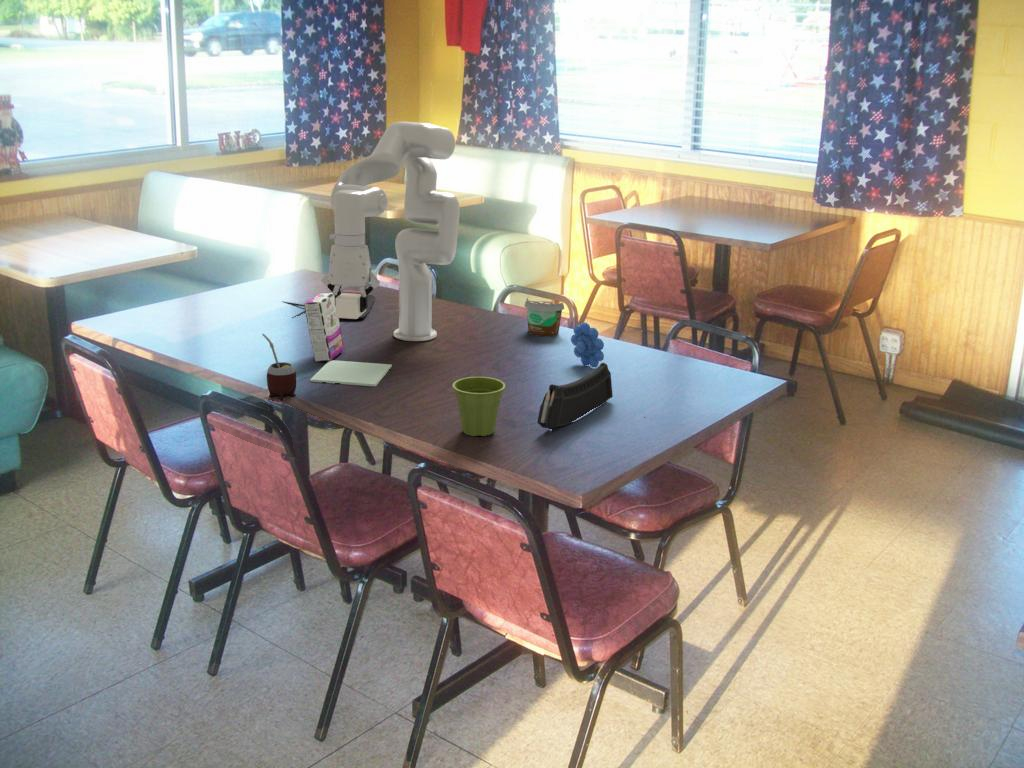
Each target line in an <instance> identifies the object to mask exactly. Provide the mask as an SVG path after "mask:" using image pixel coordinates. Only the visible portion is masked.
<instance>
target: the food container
mask: <svg viewBox="0 0 1024 768" xmlns="http://www.w3.org/2000/svg"><path fill="white" fill-rule="evenodd" d="M523 306H524V308H525V309H526V314H527V315H526V317H527V332H529V333H528V334H530V335H532V334H533V336H535V335H538V336H537V337H545V336H546V337H554V336H553V335H555V336H558V335H559V332H560V325H561V319H562V311H563V310H565V304H564V301H561V302H559V303H552V302H549V301H543V300H542V301H541V300H540V301H536V300H535V301H533V300H529V298H528V297H527V298H526V299H525V301H524V305H523ZM557 334H558V335H557Z"/></svg>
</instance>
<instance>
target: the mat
mask: <svg viewBox="0 0 1024 768" xmlns="http://www.w3.org/2000/svg"><path fill="white" fill-rule="evenodd" d="M392 367H393V365H392V364H389V363H388V364H387V363H377V362H376V363H375V362H362V361H350V360H349V361H347V360H337V359H336V360H335V359H334V360H333V359H332V360H331V361H327V362H326V363H325V364H324V365H323V366H322V367H321V368H320V369H319V370H318V371H317V372H316V373H315V374H314V375H313V376H312V377H311V378H310V380H309V382H312V383H322V382H326V383H325V384H335V383H340V384H339V385H347V386H348V385H349V386H364V387H377V385H378V384H379V383H380V382H381V380H383V378H384V377H385V376H386V374H387V373H389V371H390V370H389V369H392Z"/></svg>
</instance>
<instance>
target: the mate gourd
mask: <svg viewBox="0 0 1024 768" xmlns="http://www.w3.org/2000/svg"><path fill="white" fill-rule="evenodd" d="M261 335H262V336H263V337H264V339H266V341H267V342H268V343H269V347H270V349H271V351H272V355H273V357H274V361H275V362H274V363H271V364H270V365H269V366H268V369H267V373H266V385H267V389H268V393H269V395H268V397H269V398H270V399H272V398H279V400H280V402H283V401H284V399H285V398H295V397H296V394H295V392H296V389H297V371H296V368H295V367H294V366H293V365H292V364H291V363H289V362H285V361H284V362H283V361H282V362H279V359H278V357H277V354H276V353H277V352H276V351H275V346H274V343H272V341H271V339H270V338H269V337H268V336H267V335H266V334H265V333H262V334H261Z"/></svg>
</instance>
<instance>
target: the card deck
mask: <svg viewBox="0 0 1024 768" xmlns="http://www.w3.org/2000/svg"><path fill="white" fill-rule="evenodd" d="M360 297H361V292H360V290H351V289H343V290H342V291H341V294H340V295H339V296H338V297H336V298H335V299H336V318H349V319H348V320H357V319H360V318H359V317H360V316H361V315H362V314H363V313H364V312H365V311H366V310H365V311H364V312H360Z"/></svg>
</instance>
